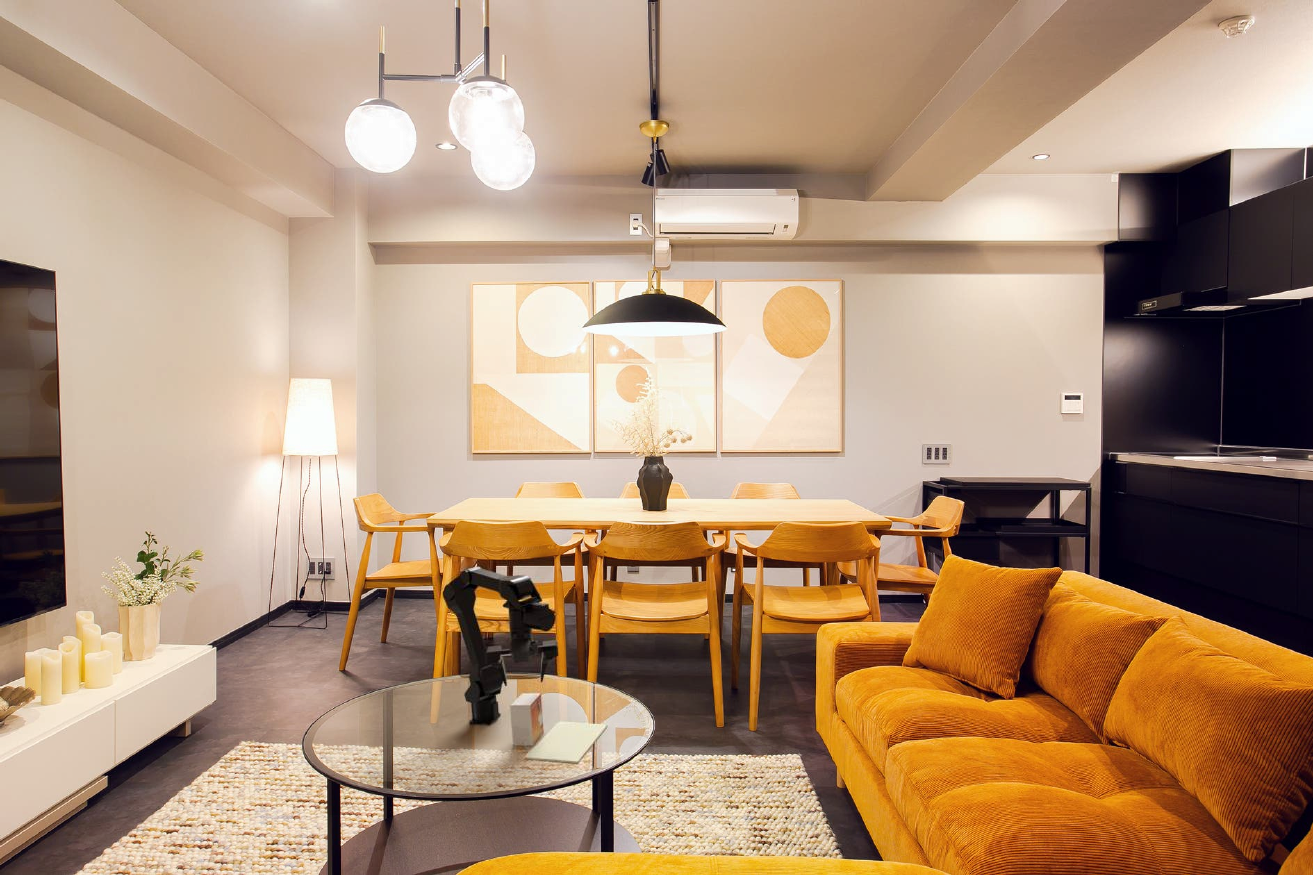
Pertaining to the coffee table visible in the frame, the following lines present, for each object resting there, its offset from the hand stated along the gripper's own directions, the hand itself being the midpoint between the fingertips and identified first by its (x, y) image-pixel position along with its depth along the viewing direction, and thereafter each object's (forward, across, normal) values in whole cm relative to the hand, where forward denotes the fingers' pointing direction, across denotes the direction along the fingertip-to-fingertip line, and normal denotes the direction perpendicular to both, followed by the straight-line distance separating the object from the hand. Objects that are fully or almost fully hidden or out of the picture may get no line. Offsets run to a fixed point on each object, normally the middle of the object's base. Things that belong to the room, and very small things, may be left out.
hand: (523, 683), depth 187 cm
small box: (+13, +1, -4) cm, 14 cm away
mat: (+13, +10, -9) cm, 19 cm away
